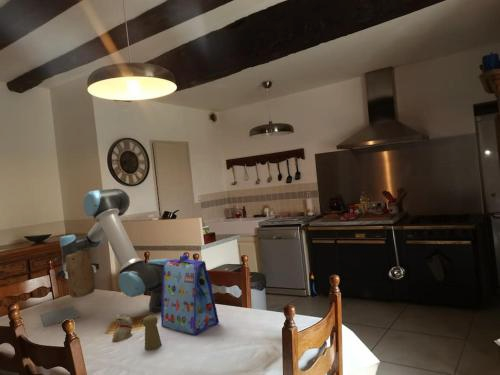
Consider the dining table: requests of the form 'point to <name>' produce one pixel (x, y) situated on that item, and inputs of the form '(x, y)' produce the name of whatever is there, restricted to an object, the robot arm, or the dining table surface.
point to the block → (79, 275)
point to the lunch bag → (187, 296)
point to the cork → (151, 333)
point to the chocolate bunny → (122, 328)
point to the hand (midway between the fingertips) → (81, 272)
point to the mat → (59, 315)
